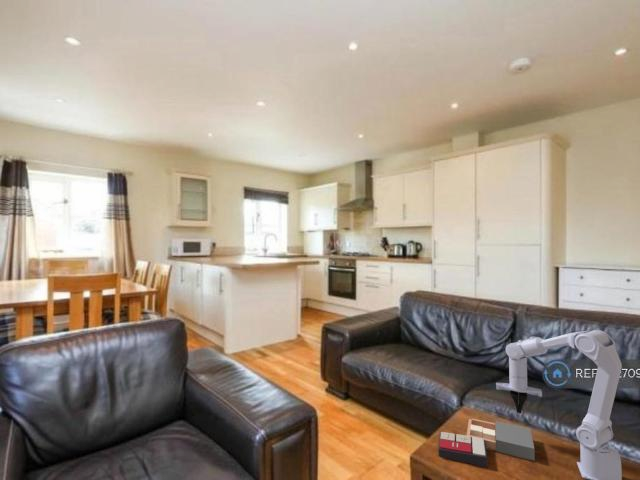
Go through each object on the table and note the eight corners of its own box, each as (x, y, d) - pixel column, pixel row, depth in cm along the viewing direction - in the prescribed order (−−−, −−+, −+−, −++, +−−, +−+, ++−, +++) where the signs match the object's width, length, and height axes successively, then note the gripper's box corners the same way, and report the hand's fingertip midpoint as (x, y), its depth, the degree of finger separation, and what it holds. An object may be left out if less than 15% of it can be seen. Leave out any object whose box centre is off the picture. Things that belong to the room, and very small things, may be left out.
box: (495, 431, 127) (495, 423, 127) (495, 451, 114) (495, 442, 114) (469, 425, 131) (469, 417, 131) (466, 444, 119) (466, 435, 119)
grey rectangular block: (530, 439, 121) (530, 428, 122) (534, 461, 109) (534, 448, 109) (495, 431, 127) (495, 420, 127) (496, 451, 114) (495, 439, 114)
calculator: (439, 430, 122) (484, 436, 116) (440, 441, 122) (485, 449, 116) (437, 446, 112) (487, 455, 106) (438, 459, 111) (488, 468, 106)
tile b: (471, 424, 126) (471, 430, 126) (470, 429, 122) (470, 436, 122) (482, 426, 124) (482, 433, 124) (482, 432, 121) (482, 439, 121)
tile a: (495, 437, 122) (494, 430, 122) (495, 442, 118) (495, 435, 118) (482, 434, 124) (482, 427, 124) (483, 440, 120) (482, 433, 120)
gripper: (539, 374, 124) (540, 411, 123) (495, 368, 130) (496, 403, 130) (542, 381, 117) (543, 420, 117) (496, 374, 124) (497, 411, 124)
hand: (518, 411), depth 123 cm, fingers closed
